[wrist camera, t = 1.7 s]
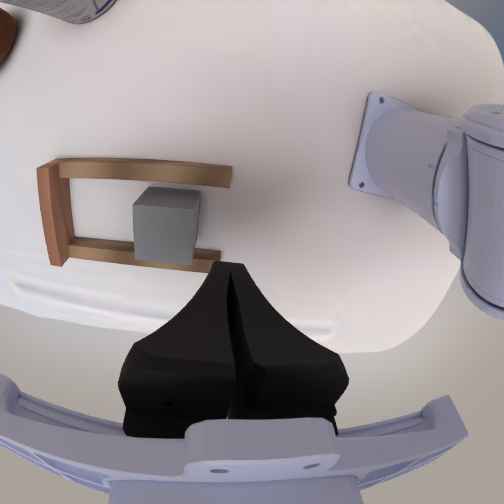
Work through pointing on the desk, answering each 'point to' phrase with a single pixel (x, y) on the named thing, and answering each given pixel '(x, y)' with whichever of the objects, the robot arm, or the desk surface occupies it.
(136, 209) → the grey cube
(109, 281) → the desk surface
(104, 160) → the channel
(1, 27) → the wooden figurine
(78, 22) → the energy drink
